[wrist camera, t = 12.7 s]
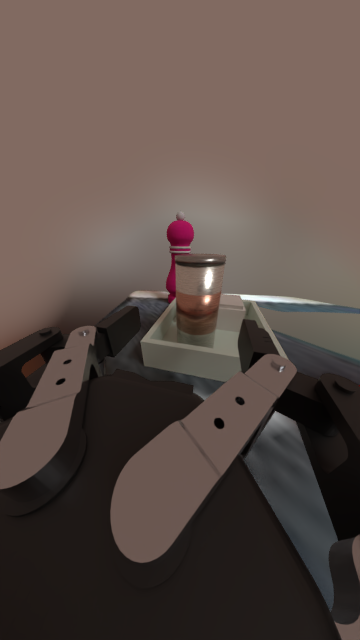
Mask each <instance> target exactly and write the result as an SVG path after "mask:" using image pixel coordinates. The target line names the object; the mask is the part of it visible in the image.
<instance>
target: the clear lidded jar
mask: <svg viewBox="0 0 360 640" xmlns="http://www.w3.org/2000/svg"><path fill="white" fill-rule="evenodd" d="M225 261H226V256H225V255H217V254H181V255H176V256H175V266H176V325H177V343H181V344H188V345H194V346H201V347H207V348H214V340H215V333H216V327H217V319H218V312H219V304H220V297H221V287H222V279H223V273H224V265H225Z"/></svg>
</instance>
